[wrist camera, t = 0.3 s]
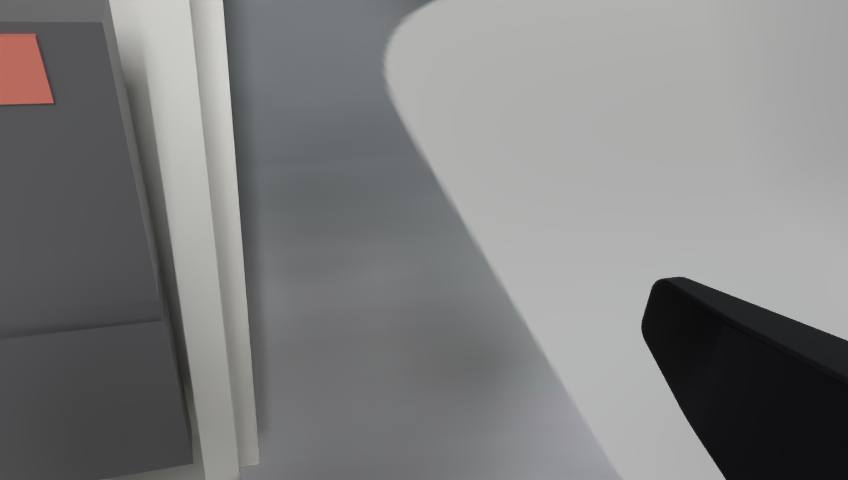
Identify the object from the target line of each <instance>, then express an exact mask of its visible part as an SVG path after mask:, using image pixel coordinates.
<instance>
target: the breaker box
mask: <svg viewBox="0 0 848 480" xmlns="http://www.w3.org/2000/svg"><path fill="white" fill-rule="evenodd" d="M109 3H110V8H111V14H112V19H113V24H114V29H115V34H116V40H117V45H118V50H119V55H120V60H121V65H122V71H123V76H124V81H125V86H126V91H127V96H128V102H129V107H130V112H131V117H132V122H133V127H134V133H135V138H136V143H137V148H138V153H139V159H140V164H141V169H142V174H143V179H144V184H145V190H146V195H147V200H148V205H149V210H150V215H151V221H152V226H153V231H154V236H155V241H156V246H157V252H158V257H159V262H160V265H161V269H162V275H163V282H164V288H165V293H166V298H167V303H168V309H169V314H170V319H171V324H172V329H173V334H174V340H175V345H176V350H177V355H178V360H179V365H180V371H181V376H182V381H183V386H184V391H185V396H186V402H187V407H188V412H189V417H190V422H191V428H192V454H193V464H188V465H182V466H177V467H171V468H165V469H160V470H154V471H148V472H143V473H137V474H131V475H126V476H120V477H114V478H109V479H103V480H240V471H239V468H243V467H248V466H254V465H259V464H260V460H259V448H258V435H257V423H256V410H255V398H254V385H253V373H252V360H251V348H250V335H249V323H248V310H247V298H246V285H245V273H244V260H243V248H242V235H241V223H240V210H239V198H238V185H237V173H236V160H235V148H234V135H233V123H232V110H231V98H230V85H229V73H228V60H227V48H226V35H225V23H224V10H223V0H109Z"/></svg>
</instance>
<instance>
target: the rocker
mask: <svg viewBox="0 0 848 480" xmlns="http://www.w3.org/2000/svg"><path fill="white" fill-rule="evenodd" d="M188 464H193V454H192V428H191V422H190V417H189V412H188V407H187V402H186V396H185V391H184V386H183V381H182V376H181V371H180V365H179V360H178V355H177V350H176V345H175V340H174V334H173V329H172V324H171V319H170V314H169V309H168V303H167V298H166V293H165V288H164V282H163V275H162V269H161V265H160V262H159V257H158V252H157V246H156V241H155V236H154V231H153V226H152V221H151V215H150V210H149V205H148V200H147V195H146V190H145V184H144V179H143V174H142V169H141V164H140V159H139V153H138V148H137V143H136V138H135V133H134V127H133V122H132V117H131V112H130V107H129V102H128V96H127V91H126V86H125V81H124V76H123V71H122V65H121V60H120V55H119V50H118V45H117V40H116V34H115V29H114V24H113V19H112V14H111V8H110V3H109V0H0V480H103V479H109V478H114V477H120V476H126V475H131V474H137V473H143V472H148V471H154V470H160V469H165V468H171V467H177V466H182V465H188Z"/></svg>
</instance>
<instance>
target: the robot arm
mask: <svg viewBox="0 0 848 480" xmlns="http://www.w3.org/2000/svg"><path fill="white" fill-rule="evenodd" d="M641 329H642V334H643V337H644V340H645V342H646V344H647V346H648V347H649V349H650V351H651V353H652V355H653V357H654V359H655V361H656V362H657V364H658V366H659V368H660V370H661V372H662V374H663V376H664V378H665V380H666V381H667V383H668V385H669V387H670V389H671V391H672V393H673V395H674V397H675V398H676V400H677V402H678V404H679V406H680V408H681V410H682V412H683V413H684V415H685V417H686V419H687V420H688V422H689V423H690V425H691V427H692V428H693V430H694V432H695V433H696V435H697V436H698V438H699V439H700V441H701V442H702V444H703V445H704V447H705V448H706V450H707V452H708V453H709V455H710V456H711V458H712V459H713V460H714V462H715V463H716V465H717V466H718V468H719V470H720V471H721V472H722V474H723V476H724V477H725V479H726V480H848V341H847V340H844V339H842V338H839V337H836V336H834V335H831V334H829V333H826V332H824V331H821V330H819V329H816V328H813V327H811V326H808V325H806V324H803V323H800V322H798V321H795V320H793V319H790V318H788V317H785V316H783V315H780V314H777V313H775V312H772V311H770V310H767V309H764V308H762V307H759V306H757V305H754V304H752V303H749V302H747V301H744V300H741V299H739V298H736V297H733V296H731V295H729V294H726V293H723V292H721V291H718V290H716V289H713V288H710V287H708V286H705V285H703V284H700V283H698V282H695V281H693V280H690V279H687V278H684V277H672V278H664V279H660V280H658V281H656V282H655V284H654V285H653V286H652V289H651V292H650V296H649V299H648V302H647V306H646V309H645V313H644V316H643V319H642V326H641Z"/></svg>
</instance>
